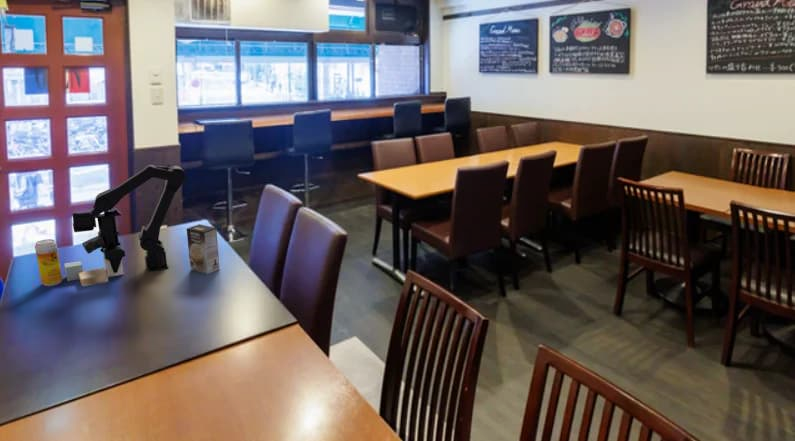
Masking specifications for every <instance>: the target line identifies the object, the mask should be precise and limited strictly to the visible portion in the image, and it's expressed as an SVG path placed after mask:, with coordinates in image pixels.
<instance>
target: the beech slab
mask: <svg viewBox="0 0 795 441" xmlns="http://www.w3.org/2000/svg"><path fill="white" fill-rule="evenodd" d="M78 274H79V279H78V280H79V282H80V286H81V287H82V286H83V287H88V286H93V285H98V284H103V283H108V282H109V277H108V275H107V273H106V270H105V267H102V268H101V267H99V268H96V269H89V270H85V271H84V270H83V272H78Z"/></svg>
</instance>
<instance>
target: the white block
mask: <svg viewBox="0 0 795 441" xmlns="http://www.w3.org/2000/svg"><path fill="white" fill-rule="evenodd" d="M103 262H104V269H105V271H106V273H107V275H108V278H111V277H116V276H121V275H124V269H123V268H124V267H123V261H122V260H121V263H120V266H119V268H118V271H117V273H114V272H113V269H112V267H111V264H110V261H109V260H106V259H105V258H104V257H103Z"/></svg>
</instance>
